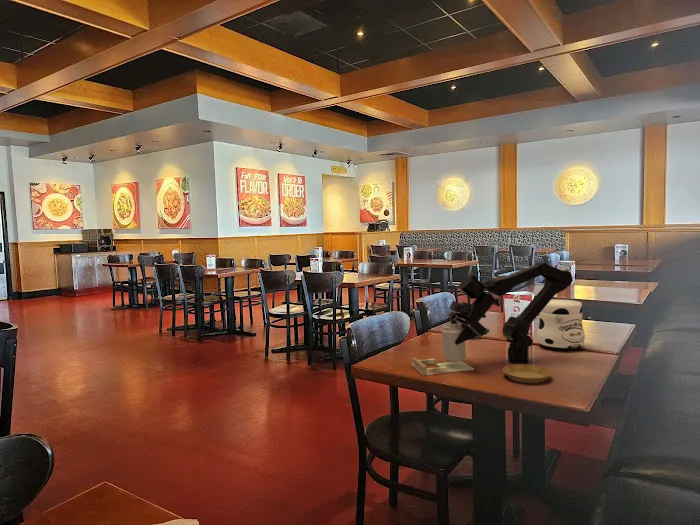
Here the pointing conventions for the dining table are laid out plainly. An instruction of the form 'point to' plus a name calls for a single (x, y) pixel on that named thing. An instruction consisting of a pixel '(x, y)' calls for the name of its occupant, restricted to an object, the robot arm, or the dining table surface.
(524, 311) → the robot arm
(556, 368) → the dining table surface
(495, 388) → the dining table surface
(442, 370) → the shelf lane
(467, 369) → the mat
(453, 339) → the can
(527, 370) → the plant saucer
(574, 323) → the milk container
